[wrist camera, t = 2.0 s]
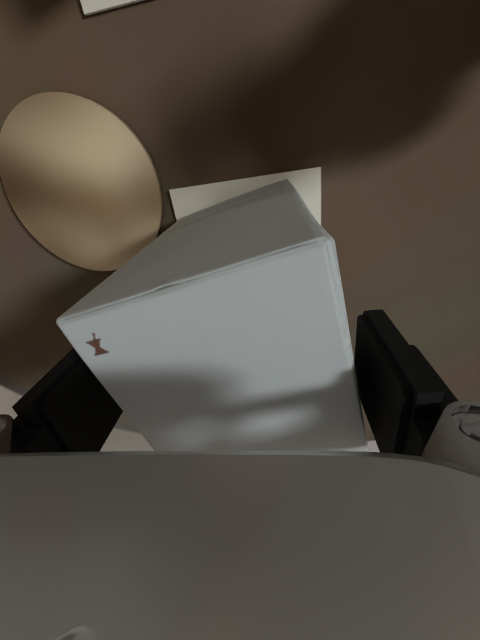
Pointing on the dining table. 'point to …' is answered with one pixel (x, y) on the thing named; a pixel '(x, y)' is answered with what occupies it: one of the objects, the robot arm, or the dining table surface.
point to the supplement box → (228, 332)
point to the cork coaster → (80, 180)
